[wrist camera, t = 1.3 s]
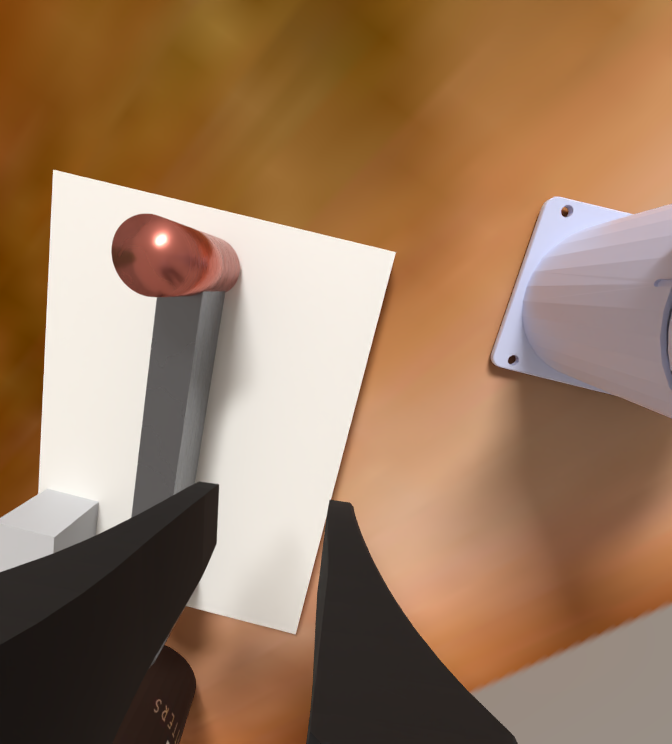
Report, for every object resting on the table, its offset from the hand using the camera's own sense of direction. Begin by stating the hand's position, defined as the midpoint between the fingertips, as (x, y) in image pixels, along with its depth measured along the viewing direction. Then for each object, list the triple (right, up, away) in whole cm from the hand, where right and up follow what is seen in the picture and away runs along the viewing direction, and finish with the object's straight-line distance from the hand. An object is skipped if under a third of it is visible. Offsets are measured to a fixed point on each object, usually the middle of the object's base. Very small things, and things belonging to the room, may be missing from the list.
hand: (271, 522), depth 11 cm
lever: (-6, +1, +8) cm, 10 cm away
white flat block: (-6, +2, +10) cm, 11 cm away
